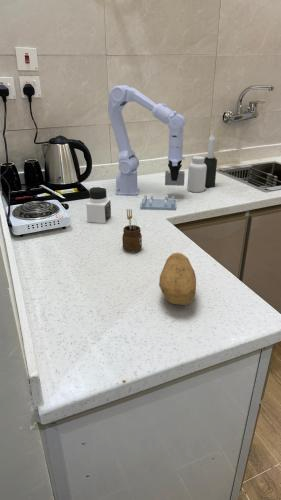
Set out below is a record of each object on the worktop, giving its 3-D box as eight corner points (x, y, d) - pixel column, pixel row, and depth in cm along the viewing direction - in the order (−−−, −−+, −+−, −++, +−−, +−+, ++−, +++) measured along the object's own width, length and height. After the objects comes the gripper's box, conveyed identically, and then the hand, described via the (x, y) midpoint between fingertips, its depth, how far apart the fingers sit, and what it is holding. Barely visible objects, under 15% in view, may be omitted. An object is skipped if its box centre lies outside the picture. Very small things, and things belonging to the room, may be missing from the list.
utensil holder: (125, 254, 107) (124, 217, 101) (120, 245, 112) (119, 209, 107) (144, 252, 108) (144, 215, 103) (138, 243, 114) (138, 207, 108)
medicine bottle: (106, 223, 128) (104, 191, 123) (87, 222, 130) (84, 190, 124) (111, 216, 134) (110, 185, 129) (93, 215, 136) (91, 184, 130)
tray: (140, 209, 141) (140, 200, 140) (142, 200, 150) (142, 192, 149) (175, 210, 140) (175, 201, 139) (175, 201, 149) (176, 193, 147)
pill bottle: (206, 192, 160) (208, 159, 153) (188, 192, 160) (190, 159, 153) (203, 187, 167) (206, 155, 160) (186, 187, 167) (188, 155, 160)
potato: (156, 315, 80) (157, 280, 76) (161, 279, 94) (161, 247, 90) (195, 317, 79) (198, 282, 75) (194, 281, 93) (196, 249, 89)
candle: (200, 185, 170) (204, 130, 159) (209, 184, 172) (214, 130, 161) (206, 188, 166) (211, 132, 155) (215, 186, 168) (220, 131, 156)
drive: (164, 185, 150) (165, 173, 148) (165, 182, 154) (165, 170, 152) (184, 185, 149) (184, 173, 147) (183, 182, 153) (184, 170, 151)
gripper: (185, 149, 138) (183, 184, 144) (185, 143, 151) (183, 174, 157) (167, 149, 138) (166, 183, 145) (168, 142, 151) (167, 174, 157)
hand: (174, 179), depth 151 cm, fingers closed on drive, 4 cm apart
